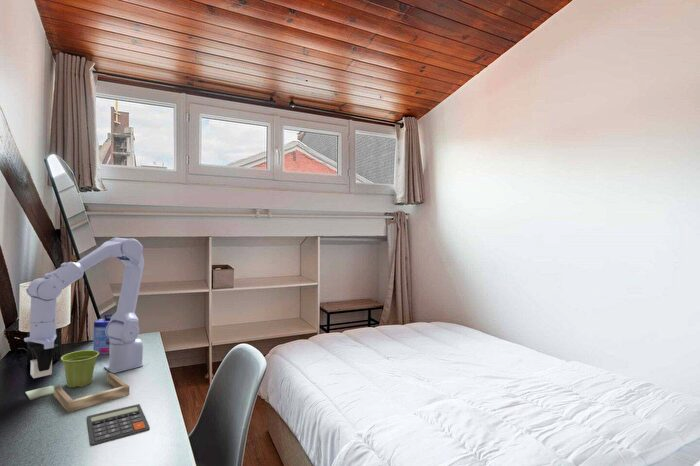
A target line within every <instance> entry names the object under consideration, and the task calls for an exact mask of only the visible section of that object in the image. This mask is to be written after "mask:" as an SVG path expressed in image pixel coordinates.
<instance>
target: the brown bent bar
mask: <svg viewBox="0 0 700 466" xmlns="http://www.w3.org/2000/svg"><path fill="white" fill-rule="evenodd" d="M106 377H107V383H108V384H109V385H111V386H112V387H113V388H112V389H108V390H104V391H100V392H96V393H93V394H89V395H86V396H82V397H79V398H75V399H72V397H71V396H69V394H68V393H67V392H66V391H65V390H64V389H63V388H62V387H61V385H59V386H54V385H48V386H45V387H40V388H36V389H32V390H28V391H25V395H26V396H27V398H28V399H29V400H30V401H32V400H35V399H39V398H43V397H47V396H52V395H53V397H54V398H55V399H57V401H58V402H59V403H60V405H61V406H63V408H64V409H65V410H66V412H68V413H70V412H75V411H77V410H81V409H84V408H88V407H91V406H94V405H97V404H101V403H105V402H108V401H111V400H115V399H117V398H118V399H119V398H122V397H125V396H129V395H130V385H129V384H127V382H125V381H123V379H121V378H119V377H118V376H117V375H115V373H111V372H109V373H107V376H106Z"/></svg>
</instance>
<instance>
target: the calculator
mask: <svg viewBox="0 0 700 466" xmlns="http://www.w3.org/2000/svg"><path fill="white" fill-rule="evenodd" d="M86 421H87V429H88V435H89V443H90V447H91V446H96V445H101V444H103V443H107V442H108V443H109V442H110V441H111V442H112V441H116V440H119V439H122V438H126V437H129V436H132V435H136V434H140V433H143V432H144V433H145V432H147V431H150V429H151V427H150V425H149V422H148V421H147V418H146V416H145V414H144V411H143V409H142V406H141V404H140V403H137V404H133V405H129V406H125V407H121V408H120V407H119V408H116V409H112V410H108V411H104V412H100V413H96V414H91V415H88V416H86Z"/></svg>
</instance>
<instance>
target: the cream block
mask: <svg viewBox="0 0 700 466" xmlns="http://www.w3.org/2000/svg"><path fill="white" fill-rule="evenodd" d="M29 372H30V376H31V377H32V378H33V379H38V378H41V377H47V376H49V375H53V374H52V373H53V360H52V361H51V365H50V368H49V370H45V371H41V372H40V371H39V369H38V364H37V359H35V360H33V359H31V360H30V371H29Z"/></svg>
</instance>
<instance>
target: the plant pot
mask: <svg viewBox="0 0 700 466" xmlns="http://www.w3.org/2000/svg"><path fill="white" fill-rule="evenodd" d="M99 355H100V354H99V352H98V351H94V350H93V349H90V350H89V349H88V350H87V349H86V350H78V351H77V350H76V351H73V352H70V353H66V354H64V355H62V356H60V361H62V364H63V366H64V373H65V381H66V386H67V387H69V388H75V387H84V386H87V385H89V384H91V382H92V381H93V375H94V371H95V365H96V361H97V359H98V356H99Z"/></svg>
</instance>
